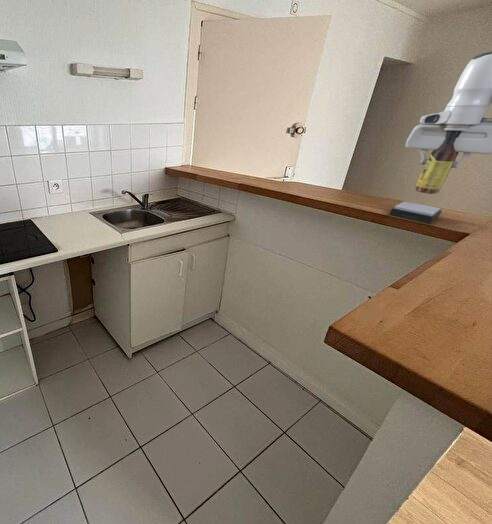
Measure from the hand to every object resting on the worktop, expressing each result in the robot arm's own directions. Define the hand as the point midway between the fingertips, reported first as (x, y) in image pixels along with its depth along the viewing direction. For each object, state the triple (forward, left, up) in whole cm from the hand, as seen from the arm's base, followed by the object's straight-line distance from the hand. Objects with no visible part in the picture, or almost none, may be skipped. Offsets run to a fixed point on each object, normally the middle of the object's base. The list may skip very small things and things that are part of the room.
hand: (438, 166), depth 90 cm
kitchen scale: (0, 0, -17) cm, 17 cm away
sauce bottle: (0, 0, -9) cm, 9 cm away
